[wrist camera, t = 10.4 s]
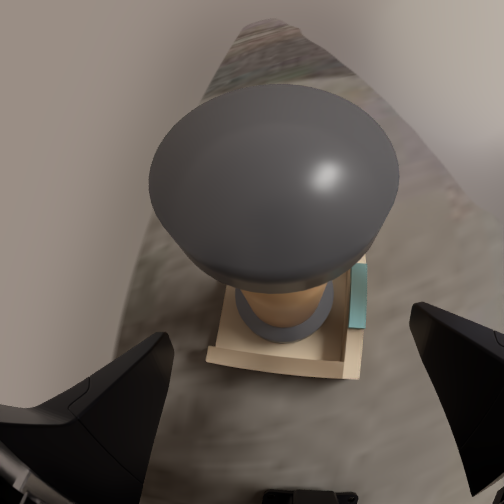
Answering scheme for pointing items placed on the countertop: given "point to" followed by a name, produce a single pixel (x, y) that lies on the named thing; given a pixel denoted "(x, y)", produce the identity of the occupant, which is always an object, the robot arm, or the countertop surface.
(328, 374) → the divided tray
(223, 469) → the countertop surface
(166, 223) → the bobbin
